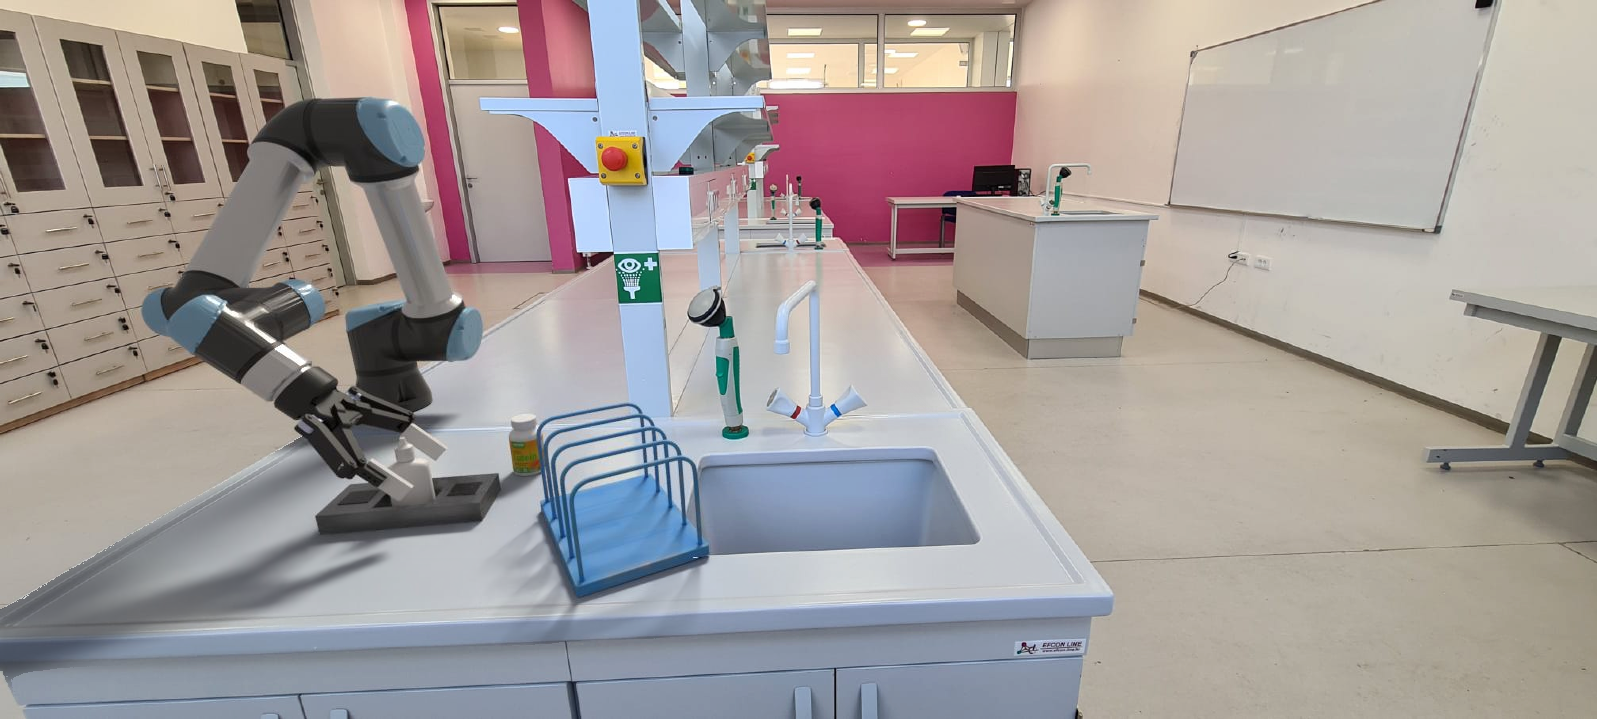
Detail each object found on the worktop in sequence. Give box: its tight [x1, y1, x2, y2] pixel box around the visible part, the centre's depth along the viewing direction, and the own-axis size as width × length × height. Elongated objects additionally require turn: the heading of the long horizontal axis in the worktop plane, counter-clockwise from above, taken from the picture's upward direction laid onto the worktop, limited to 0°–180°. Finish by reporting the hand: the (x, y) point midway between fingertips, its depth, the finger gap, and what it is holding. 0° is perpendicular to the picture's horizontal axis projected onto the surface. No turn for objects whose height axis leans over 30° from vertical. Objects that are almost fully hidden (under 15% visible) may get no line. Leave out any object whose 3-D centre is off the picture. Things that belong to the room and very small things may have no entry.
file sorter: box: [536, 402, 710, 598], centre depth 91 cm, size 25×17×15 cm
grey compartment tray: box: [314, 472, 502, 536], centre depth 99 cm, size 10×22×3 cm, turn 99°
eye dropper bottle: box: [387, 437, 436, 507], centre depth 98 cm, size 4×6×12 cm
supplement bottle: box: [508, 413, 546, 477], centre depth 111 cm, size 5×5×10 cm
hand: (425, 472), depth 98 cm, fingers open, 13 cm apart
